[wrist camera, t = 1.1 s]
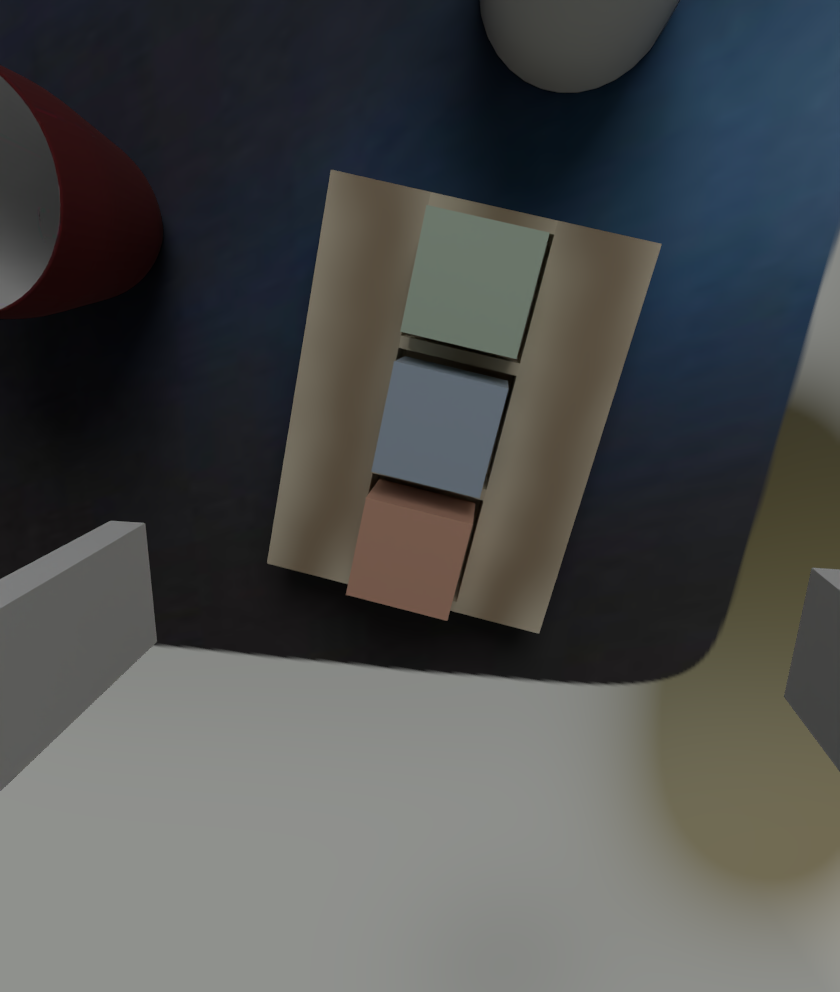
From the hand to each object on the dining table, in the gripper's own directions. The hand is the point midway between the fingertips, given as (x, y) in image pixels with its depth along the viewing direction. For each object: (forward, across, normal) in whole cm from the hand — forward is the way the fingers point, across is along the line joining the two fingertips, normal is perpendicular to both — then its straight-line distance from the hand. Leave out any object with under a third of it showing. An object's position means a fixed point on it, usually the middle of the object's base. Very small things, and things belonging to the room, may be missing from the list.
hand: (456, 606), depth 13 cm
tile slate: (+15, -2, +1) cm, 16 cm away
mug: (+19, -18, +9) cm, 28 cm away
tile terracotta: (+15, -3, -4) cm, 16 cm away
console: (+18, -2, +1) cm, 19 cm away
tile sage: (+15, 0, +7) cm, 17 cm away
